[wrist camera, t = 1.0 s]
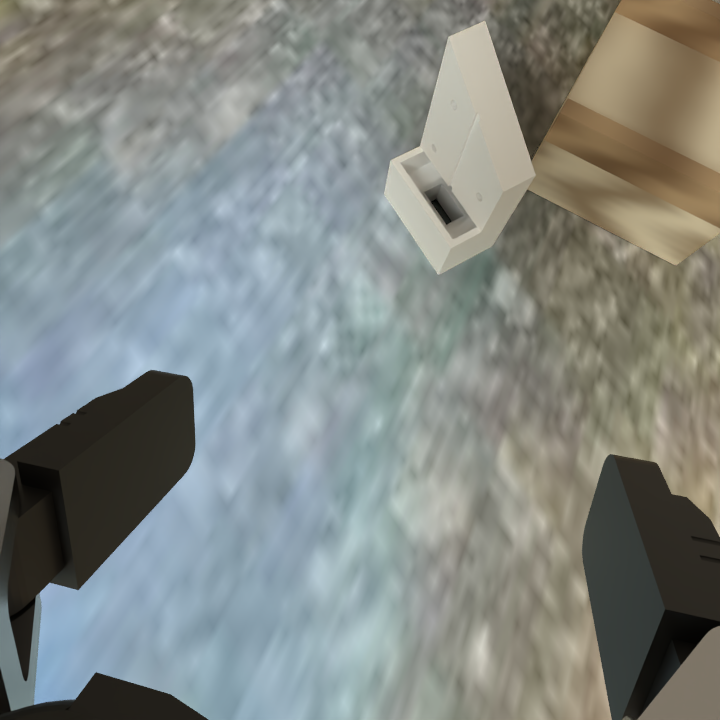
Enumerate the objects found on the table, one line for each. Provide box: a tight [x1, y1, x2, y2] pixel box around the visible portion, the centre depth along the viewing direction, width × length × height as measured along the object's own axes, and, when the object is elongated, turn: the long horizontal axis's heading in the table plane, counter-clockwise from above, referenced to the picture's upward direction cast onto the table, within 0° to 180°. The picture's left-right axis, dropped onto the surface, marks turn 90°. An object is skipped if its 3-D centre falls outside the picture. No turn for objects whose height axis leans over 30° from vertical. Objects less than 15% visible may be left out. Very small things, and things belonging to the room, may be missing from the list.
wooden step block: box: [527, 0, 720, 266], centre depth 31 cm, size 10×11×6 cm
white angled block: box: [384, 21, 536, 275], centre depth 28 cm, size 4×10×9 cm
